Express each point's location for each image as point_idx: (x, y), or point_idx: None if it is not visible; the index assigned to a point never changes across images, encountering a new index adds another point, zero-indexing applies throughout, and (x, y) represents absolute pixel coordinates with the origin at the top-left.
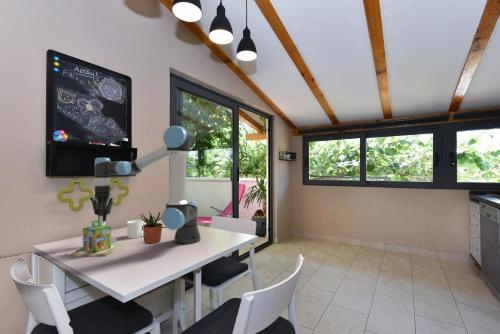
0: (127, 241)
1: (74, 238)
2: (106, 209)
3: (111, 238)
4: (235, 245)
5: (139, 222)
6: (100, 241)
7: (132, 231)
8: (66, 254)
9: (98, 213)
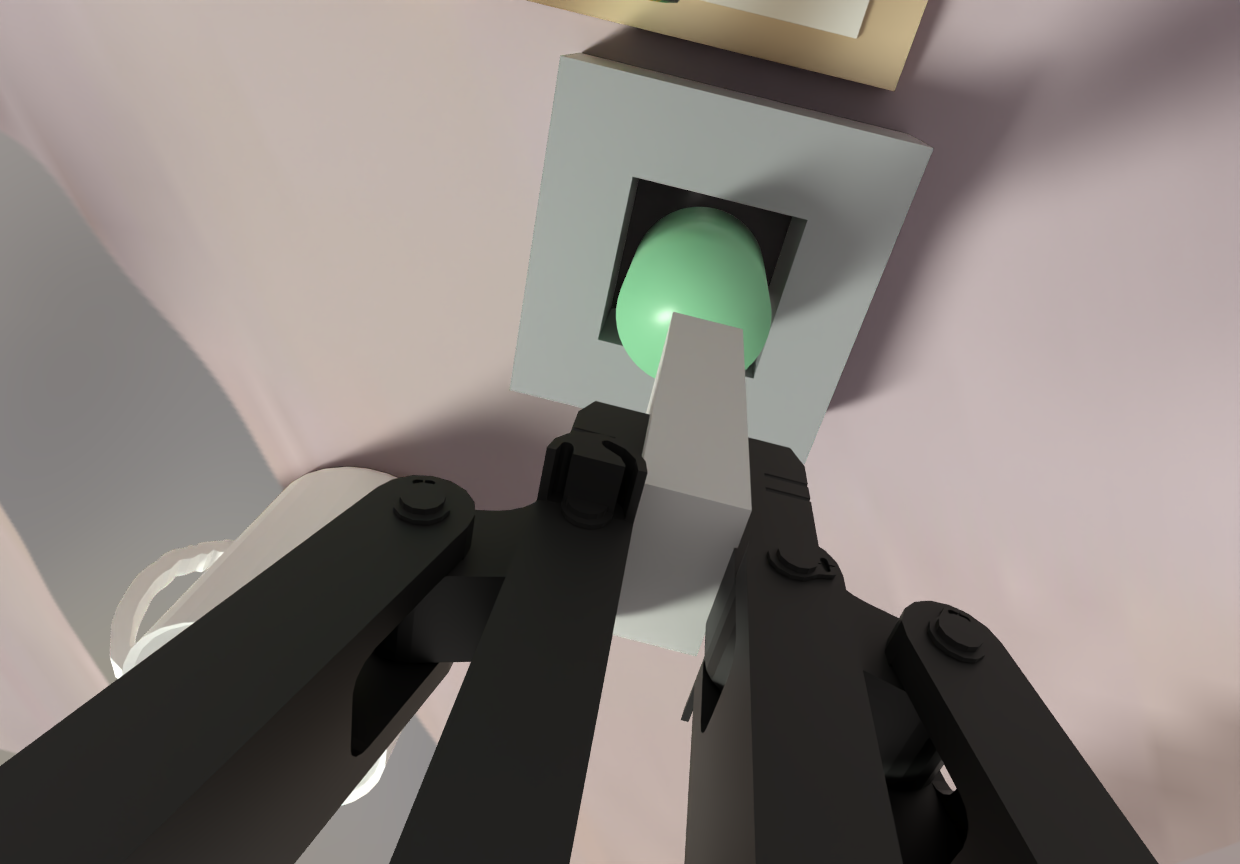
0: (363, 325)
1: (1220, 670)
2: (322, 661)
3: (539, 272)
4: None
5: (133, 646)
6: None
7: (312, 524)
8: None
9: (813, 608)
